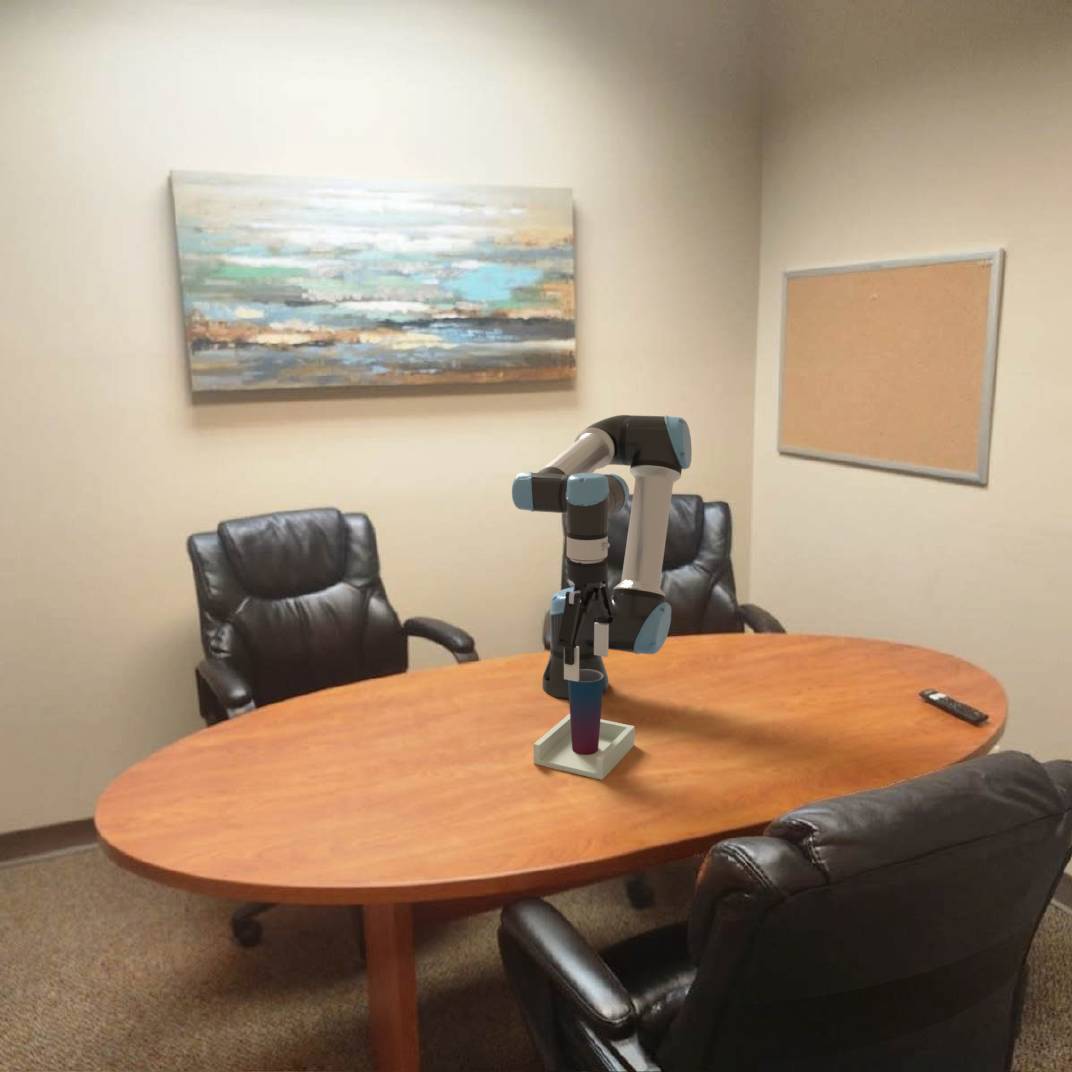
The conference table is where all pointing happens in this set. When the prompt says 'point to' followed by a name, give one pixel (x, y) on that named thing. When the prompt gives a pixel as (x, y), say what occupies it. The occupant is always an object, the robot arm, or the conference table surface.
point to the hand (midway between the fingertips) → (586, 667)
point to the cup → (585, 711)
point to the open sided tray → (560, 755)
